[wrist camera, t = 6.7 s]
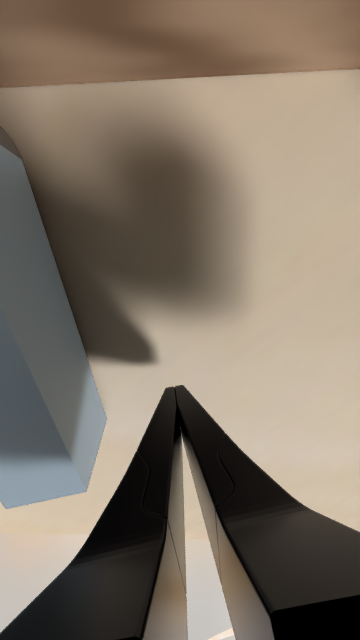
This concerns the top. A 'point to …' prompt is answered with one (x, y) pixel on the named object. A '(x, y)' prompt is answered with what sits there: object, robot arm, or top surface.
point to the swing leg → (39, 359)
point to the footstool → (172, 39)
